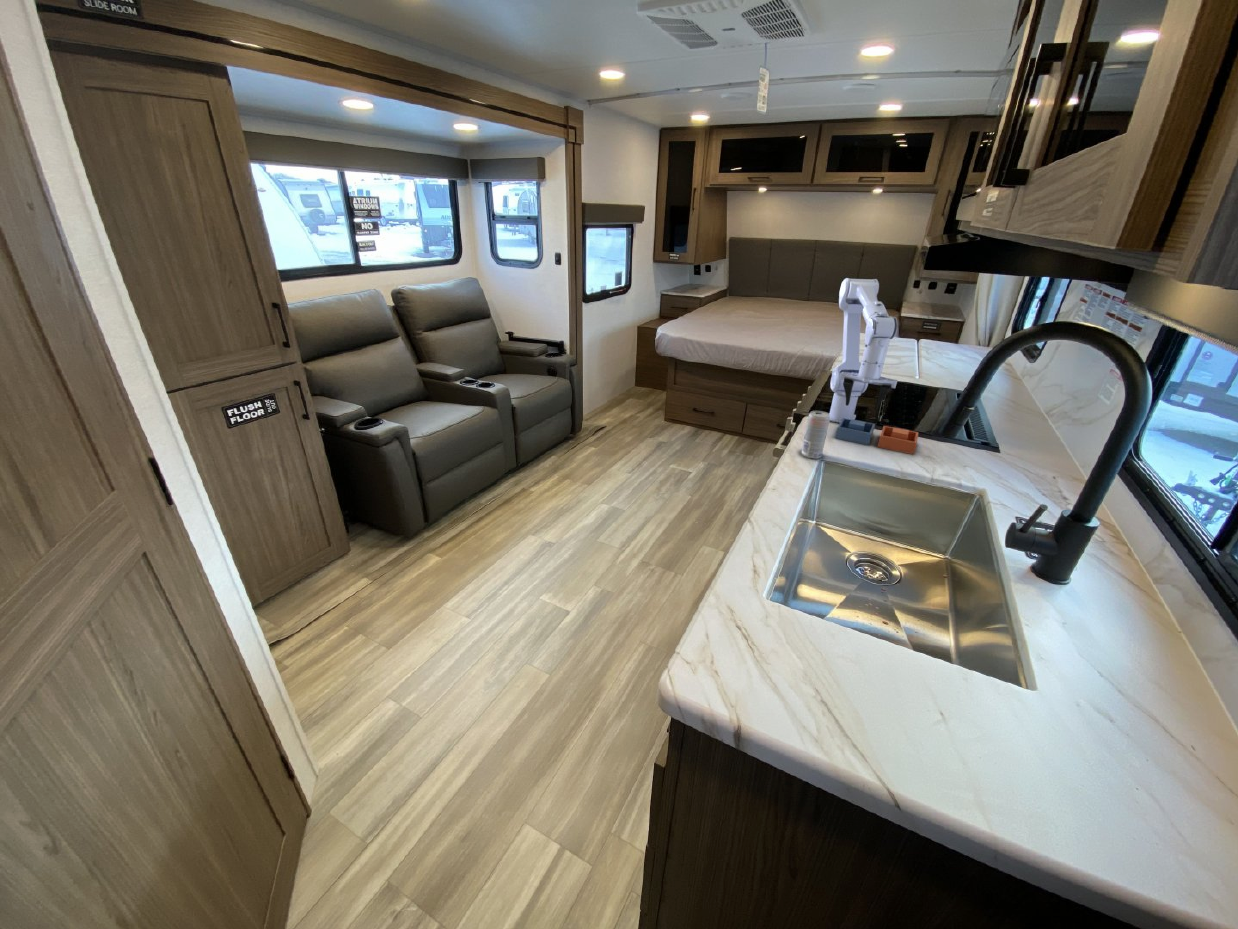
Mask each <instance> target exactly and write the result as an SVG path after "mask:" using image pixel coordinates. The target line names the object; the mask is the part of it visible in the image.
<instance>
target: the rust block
mask: <svg viewBox="0 0 1238 929" xmlns="http://www.w3.org/2000/svg"><path fill="white" fill-rule="evenodd" d="M909 431H910V430H909V429H906V428H899V427H893V431H892V435H891V437H893V438H898V439H903V440H907V437H908V433H909Z"/></svg>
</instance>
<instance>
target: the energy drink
mask: <svg viewBox="0 0 1238 929" xmlns="http://www.w3.org/2000/svg"><path fill="white" fill-rule="evenodd" d="M830 422H831V421H830V414H829V412H826V411H823V410H812V411H810V412H809V414H808V417H807V422H806V427H805V432H804V437H803V443H802V448H801V452H800V453H801V454H802V456H804V458H808V459H812V460H813V459H820V458H821V457H822V456H823V452H824V448H825V445H826V444H825V443H826V439H827V435H828V429H829V426H830Z"/></svg>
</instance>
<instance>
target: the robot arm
mask: <svg viewBox="0 0 1238 929" xmlns="http://www.w3.org/2000/svg"><path fill="white" fill-rule="evenodd" d="M879 290H880V282H879V281H878V279H877V278H873V279H868V278H867V279H865V278H849V277H846V278H844V279H843V281H841V285H840V289H839V292H838V293H839V294H838V296H839V297H838V305H839V309H840V310H841V311H843V331H842V332H843V333H842V334H843V335H842V359H841V363H839V364H838V365H836V366H835V367H834V369H833V370H832V371H831V378H830V385H829V386H830V389H831V391H832V392H833V397H832V401H831V406H830V409H829V412H828V414H830V421H829V422H833V423H837V424H838V423H839V424H840V422H841V420H842V419H843V418H845V419H853V420H856V418H857V414H855V411H856V407H857V404H858V400H859V397H861V396H862V394H863V393H865V391H866V390H867V388H868V386H869V384H870V385H877V386H880V388H879V392H878V395H877V399H876V403H875V405H874V408H873V411H878V408H879V406H880V404H881V403H882V401H883V400H884V398H886V396H887V395H888V393H889V392H890V391H891V389H896V386H897V384H898V379H893V378H890V377H884V376H882V372H883V369H884V364H885V360H886V357H887V353H888V349H889V346H890V345H889V344H890V342H891V340H893V339H894V338H895V336H896V334H897V331H898V319H897V316H896V317H895V316H891V315H889V313H888V311H887V309H886V307H885V304H884V303H883V302H882V301H879V300H878V294H879ZM861 317H863V319H864V322H865V324H866V326H865V329H864V330H865V332H864V333H865V334H864V337H865V338H864V344H865V345H864V349H863V354H862V358H861V362H860V347H861V346H860V344H861V324H862V323H861V319H862V318H861Z"/></svg>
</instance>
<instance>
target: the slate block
mask: <svg viewBox="0 0 1238 929" xmlns="http://www.w3.org/2000/svg"><path fill="white" fill-rule="evenodd" d="M865 423H866V421H862V420H857V419H854V420H853V419H851V421H850V423H849V426H848V429H852V430H857V431H863V430H864V427H865Z"/></svg>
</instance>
